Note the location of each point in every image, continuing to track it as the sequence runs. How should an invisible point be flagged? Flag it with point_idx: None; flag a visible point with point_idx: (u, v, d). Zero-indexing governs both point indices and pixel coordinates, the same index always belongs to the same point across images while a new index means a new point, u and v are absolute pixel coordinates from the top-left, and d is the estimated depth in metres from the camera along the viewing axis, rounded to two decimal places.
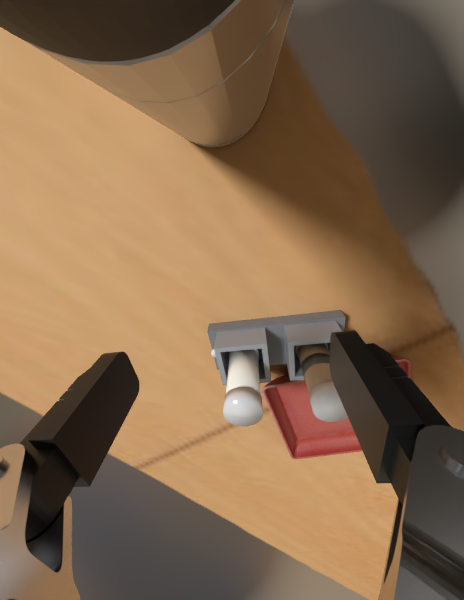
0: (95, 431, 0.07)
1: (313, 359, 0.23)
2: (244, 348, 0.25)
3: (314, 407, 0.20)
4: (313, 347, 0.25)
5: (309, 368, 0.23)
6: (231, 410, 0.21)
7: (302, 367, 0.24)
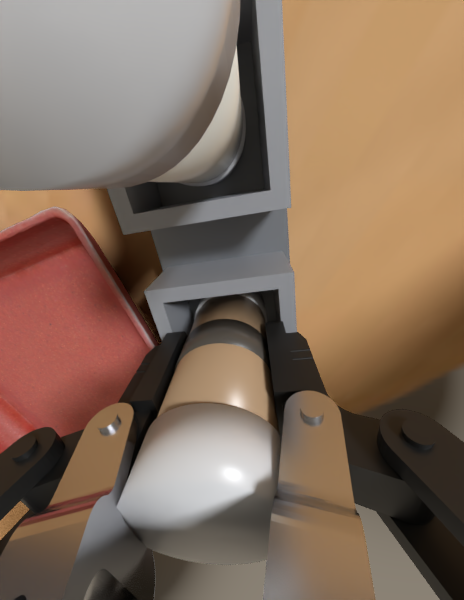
0: None
1: (267, 351, 0.08)
2: (272, 115, 0.06)
3: (203, 483, 0.04)
4: None
5: (249, 352, 0.07)
6: None
7: (227, 326, 0.08)
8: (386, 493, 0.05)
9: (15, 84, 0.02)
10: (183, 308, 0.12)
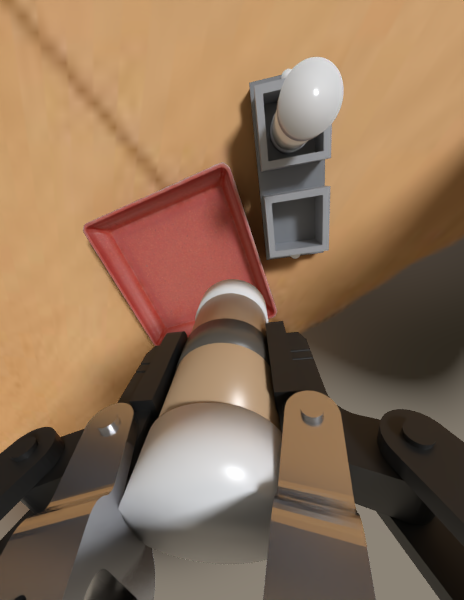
0: None
1: (268, 351, 0.08)
2: None
3: (206, 483, 0.04)
4: None
5: (251, 351, 0.07)
6: (320, 75, 0.13)
7: (228, 325, 0.08)
8: (386, 493, 0.05)
9: (312, 123, 0.14)
10: None
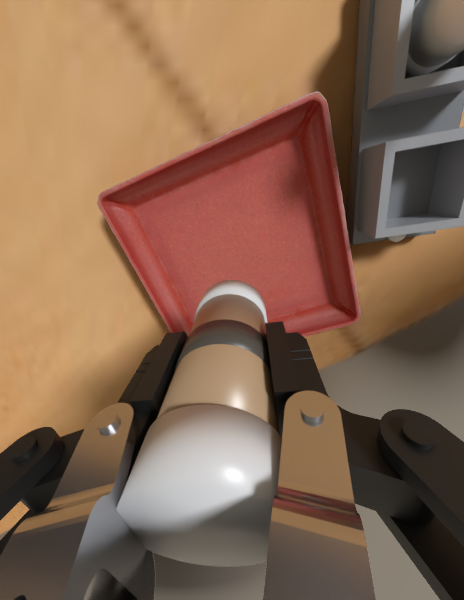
0: None
1: (267, 352, 0.08)
2: None
3: (204, 485, 0.04)
4: None
5: (249, 352, 0.07)
6: None
7: (227, 326, 0.08)
8: (386, 493, 0.05)
9: None
10: None
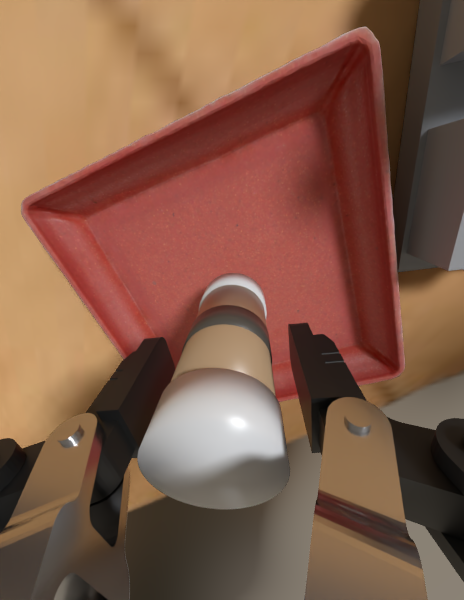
0: (146, 407, 0.08)
1: (265, 334, 0.09)
2: None
3: (212, 423, 0.05)
4: (265, 320, 0.11)
5: (250, 332, 0.08)
6: None
7: (229, 311, 0.09)
8: (445, 510, 0.04)
9: None
10: None
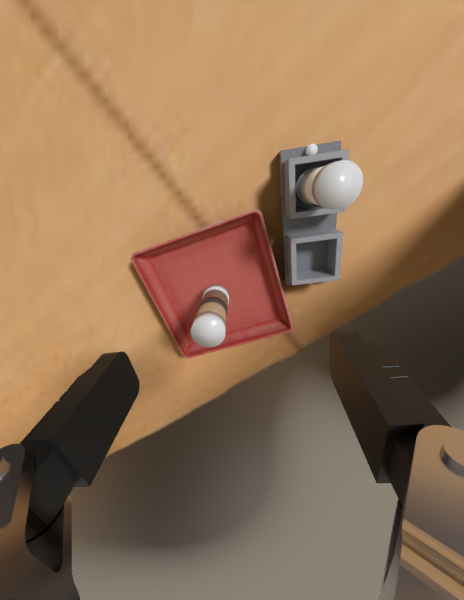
0: (94, 431, 0.07)
1: (225, 306, 0.27)
2: None
3: (208, 319, 0.23)
4: (227, 302, 0.29)
5: (219, 304, 0.27)
6: (347, 171, 0.18)
7: (213, 298, 0.27)
8: None
9: (340, 201, 0.19)
10: None
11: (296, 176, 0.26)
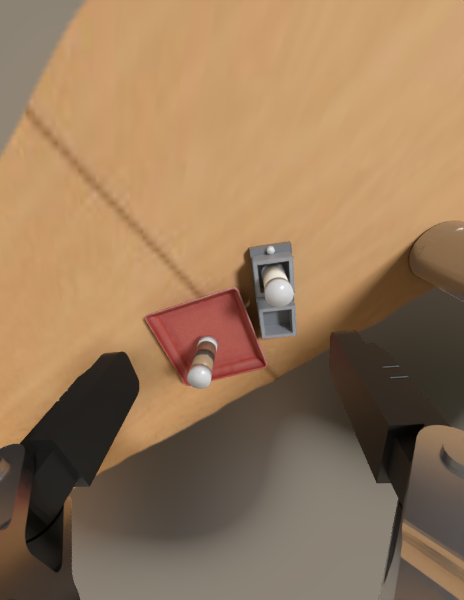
0: (95, 431, 0.07)
1: (212, 356, 0.38)
2: (291, 278, 0.34)
3: (198, 371, 0.34)
4: (214, 351, 0.40)
5: (208, 356, 0.37)
6: (283, 287, 0.29)
7: (204, 350, 0.38)
8: None
9: (280, 302, 0.30)
10: None
11: (261, 265, 0.37)
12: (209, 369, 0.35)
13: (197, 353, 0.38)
